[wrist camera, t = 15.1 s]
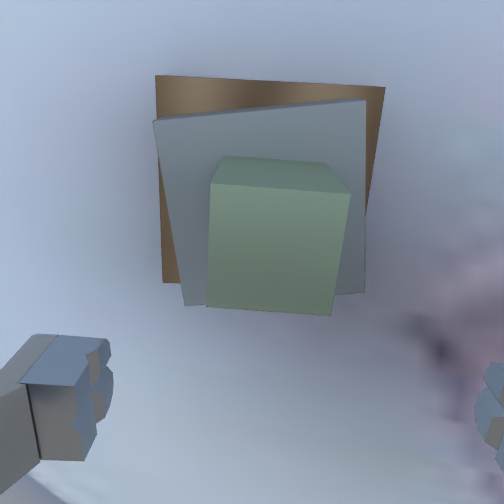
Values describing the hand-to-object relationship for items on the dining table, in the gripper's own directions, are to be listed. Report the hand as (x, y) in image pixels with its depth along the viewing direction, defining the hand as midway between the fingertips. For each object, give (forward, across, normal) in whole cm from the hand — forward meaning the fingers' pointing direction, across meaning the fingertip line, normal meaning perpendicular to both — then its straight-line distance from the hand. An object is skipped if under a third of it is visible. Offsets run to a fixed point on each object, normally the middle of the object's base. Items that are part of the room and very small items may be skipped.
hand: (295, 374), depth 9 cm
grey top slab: (+16, +1, 0) cm, 16 cm away
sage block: (+13, 0, 0) cm, 13 cm away
